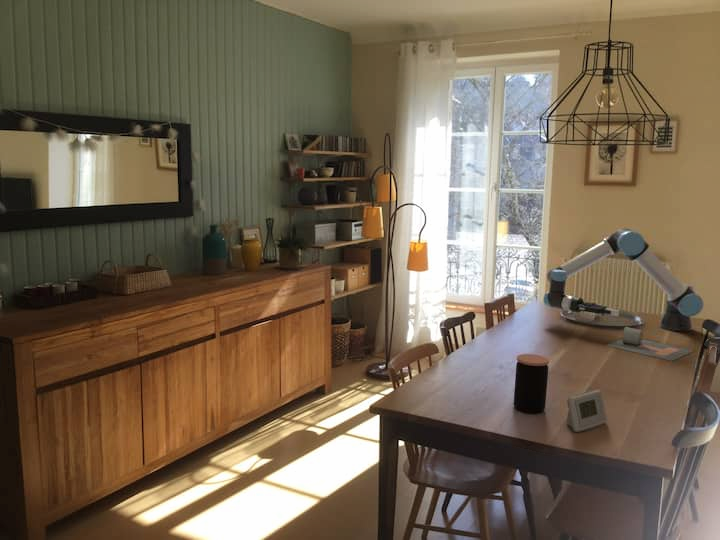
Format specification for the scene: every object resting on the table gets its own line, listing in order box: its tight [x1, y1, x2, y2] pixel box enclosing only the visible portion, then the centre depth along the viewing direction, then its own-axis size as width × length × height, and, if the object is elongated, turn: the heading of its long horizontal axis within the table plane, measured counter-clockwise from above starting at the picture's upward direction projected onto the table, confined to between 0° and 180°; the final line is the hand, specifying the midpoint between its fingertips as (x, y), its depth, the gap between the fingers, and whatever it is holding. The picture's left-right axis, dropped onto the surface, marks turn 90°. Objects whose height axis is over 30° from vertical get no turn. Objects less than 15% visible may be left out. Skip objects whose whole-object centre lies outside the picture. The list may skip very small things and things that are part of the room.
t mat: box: [606, 339, 694, 362], centre depth 305 cm, size 24×30×1 cm
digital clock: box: [566, 389, 608, 433], centre depth 213 cm, size 16×9×11 cm, turn 113°
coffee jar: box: [512, 353, 550, 415], centre depth 225 cm, size 11×11×18 cm
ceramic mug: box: [621, 326, 644, 345], centre depth 312 cm, size 11×8×8 cm
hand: (618, 313), depth 315 cm, fingers closed
